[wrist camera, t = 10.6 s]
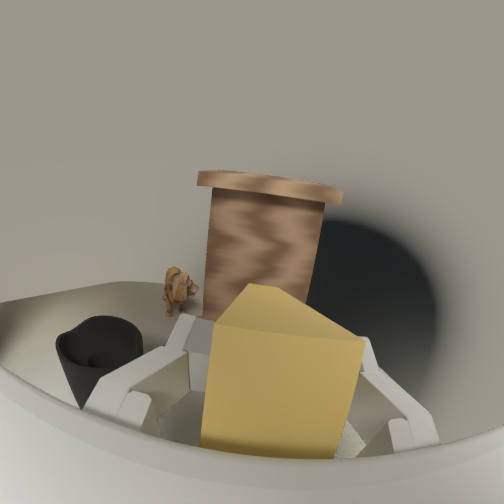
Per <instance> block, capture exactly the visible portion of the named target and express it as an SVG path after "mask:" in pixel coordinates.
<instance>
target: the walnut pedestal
mask: <svg viewBox="0 0 504 504" xmlns="http://www.w3.org/2000/svg"><path fill="white" fill-rule="evenodd" d="M197 186H207V187H213V189H212V199H211V209H210V220H209V230H208V242H207V254H206V255H207V256H206V269H205V282H204V298H203V316H202V317H205V318H210V319H215V320H218V319H219V317H220V316H221V315H222V314H223V313H224V312H225V311H226V309H227V308H228V307H229V306H230V305H231V304H232V302H233V301H234V300H235V299H236V298H237V297H238V295H239V294H240V293H241V292H242V291H243V290H244V288H245V287H246V286H247V285H248V284H249V283H251V284H257V285H264V286H271V287H278V288H280V289H281V290H283V291H284V292H286V293H288V294H289V295H291V296H292V297H294V298H296V299H297V300H299V301H300V302H302V303H304V304H306V299H307V295H308V290H309V286H310V281H311V276H312V272H313V266H314V262H315V257H316V252H317V246H318V241H319V235H320V230H321V224H322V219H323V213H324V208H325V203H331V204H337V205H341V202H342V196H343V191H341V190H338V189H335V188H332V187H329V186H326V185H323V184H320V183H314V182H308V181H302V180H296V179H289V178H282V177H276V176H268V175H261V174H253V173H245V172H236V171H226V170H209V171H199V172H198V181H197Z"/></svg>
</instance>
